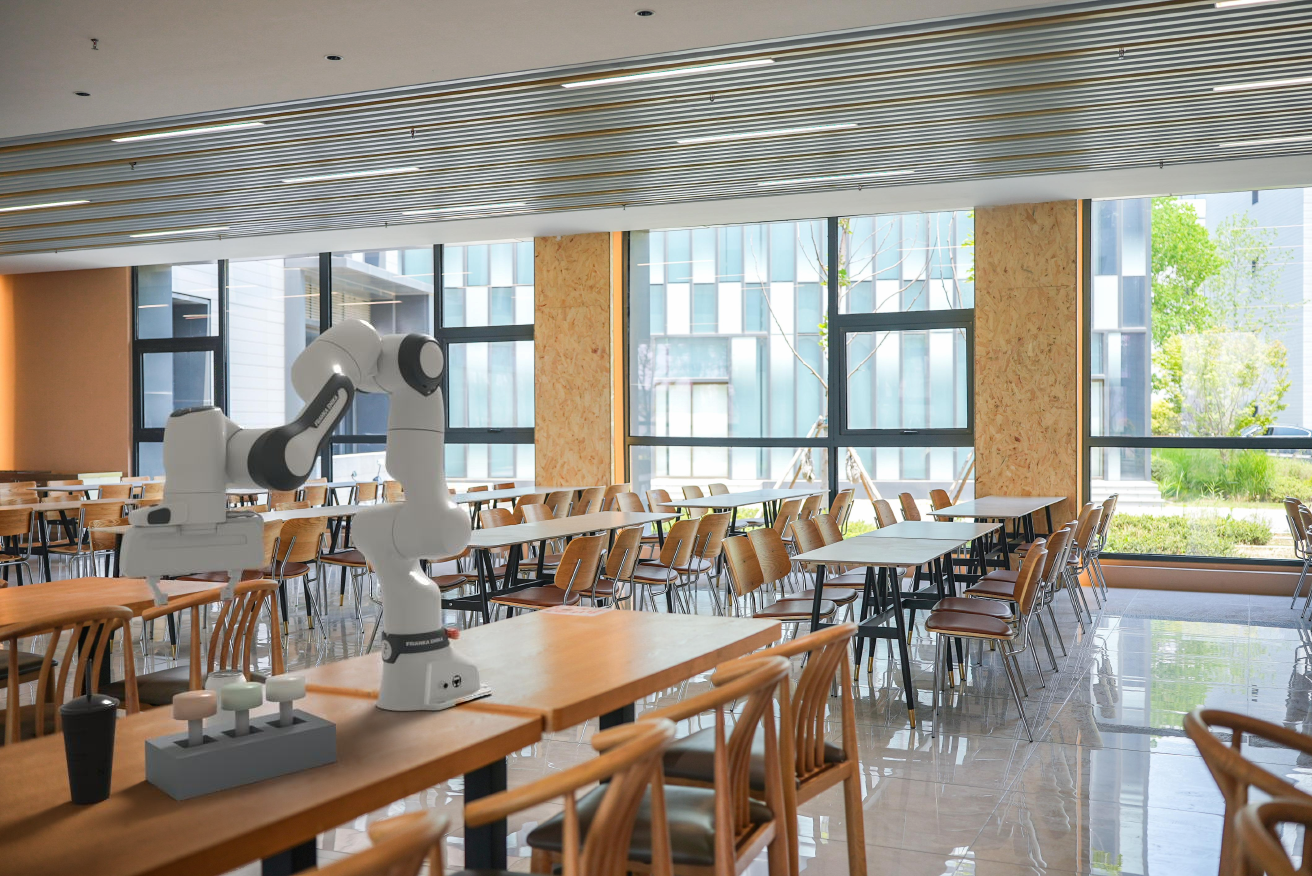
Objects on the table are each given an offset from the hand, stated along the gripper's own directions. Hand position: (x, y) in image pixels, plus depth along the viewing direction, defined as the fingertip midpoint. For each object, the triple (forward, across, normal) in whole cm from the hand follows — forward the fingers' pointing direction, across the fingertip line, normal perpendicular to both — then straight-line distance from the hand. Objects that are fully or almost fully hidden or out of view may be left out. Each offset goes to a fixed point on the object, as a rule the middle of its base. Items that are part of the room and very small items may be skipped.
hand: (194, 602), depth 152 cm
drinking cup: (+27, +14, -2) cm, 30 cm away
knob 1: (+22, 0, +1) cm, 22 cm away
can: (+26, -10, -17) cm, 33 cm away
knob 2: (+22, -14, 0) cm, 26 cm away
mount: (+26, -7, 0) cm, 27 cm away
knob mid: (+22, -7, +1) cm, 23 cm away
